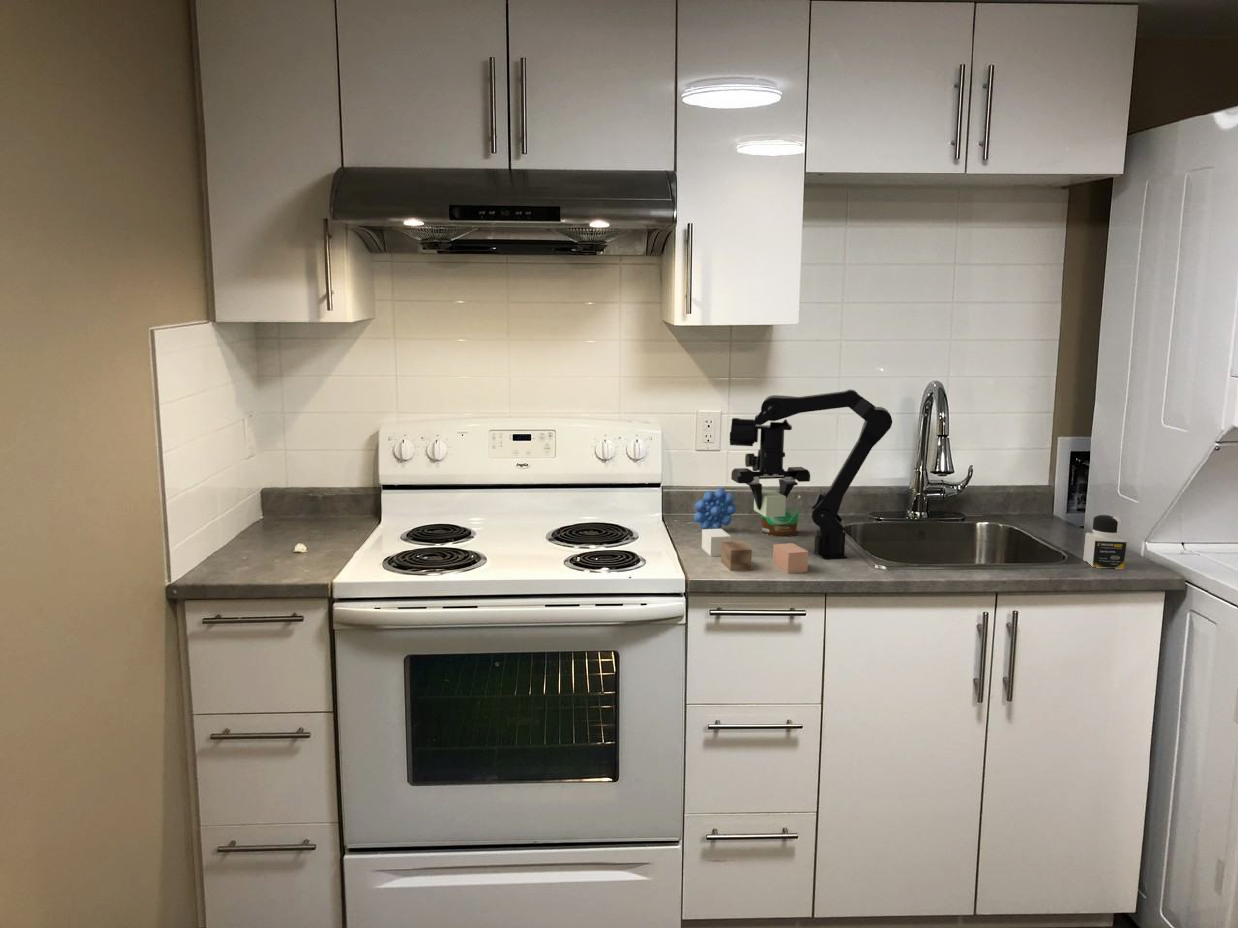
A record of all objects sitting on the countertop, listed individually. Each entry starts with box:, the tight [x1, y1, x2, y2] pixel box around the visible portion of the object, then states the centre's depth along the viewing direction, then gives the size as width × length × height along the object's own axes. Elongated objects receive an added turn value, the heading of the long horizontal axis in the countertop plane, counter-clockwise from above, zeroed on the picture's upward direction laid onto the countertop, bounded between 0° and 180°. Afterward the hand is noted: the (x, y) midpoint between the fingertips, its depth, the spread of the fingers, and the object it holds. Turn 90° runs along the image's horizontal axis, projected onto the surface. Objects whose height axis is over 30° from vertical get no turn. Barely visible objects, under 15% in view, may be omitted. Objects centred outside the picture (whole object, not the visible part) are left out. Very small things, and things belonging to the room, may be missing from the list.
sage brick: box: [753, 489, 786, 517], centre depth 244 cm, size 5×8×5 cm, turn 14°
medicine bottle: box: [1083, 514, 1127, 570], centre depth 236 cm, size 7×7×12 cm
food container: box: [760, 495, 803, 537], centre depth 263 cm, size 12×6×10 cm, turn 105°
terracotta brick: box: [772, 542, 809, 574], centre depth 231 cm, size 5×8×5 cm, turn 17°
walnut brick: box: [720, 540, 753, 572], centre depth 233 cm, size 5×8×5 cm, turn 10°
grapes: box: [693, 487, 738, 531], centre depth 266 cm, size 12×7×12 cm, turn 90°
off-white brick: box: [701, 528, 732, 557], centre depth 245 cm, size 5×8×5 cm, turn 11°
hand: (769, 509), depth 244 cm, fingers closed on sage brick, 5 cm apart
